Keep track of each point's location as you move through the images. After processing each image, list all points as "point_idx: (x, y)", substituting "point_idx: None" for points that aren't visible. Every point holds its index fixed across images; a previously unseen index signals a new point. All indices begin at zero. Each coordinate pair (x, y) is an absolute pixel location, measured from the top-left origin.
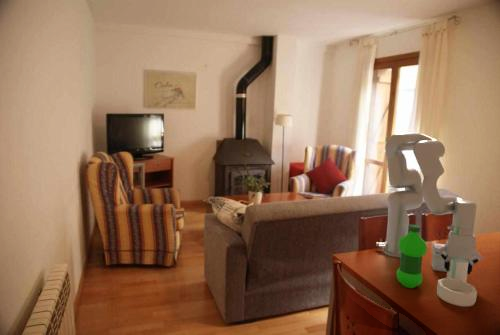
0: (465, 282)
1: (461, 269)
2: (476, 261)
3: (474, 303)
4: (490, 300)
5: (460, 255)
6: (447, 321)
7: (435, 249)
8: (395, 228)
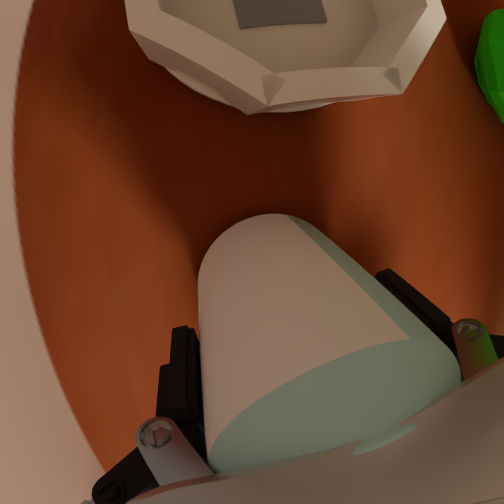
0: (212, 55)
1: (282, 286)
2: (109, 481)
3: None
4: (36, 109)
5: (426, 477)
6: None
7: None
8: None
